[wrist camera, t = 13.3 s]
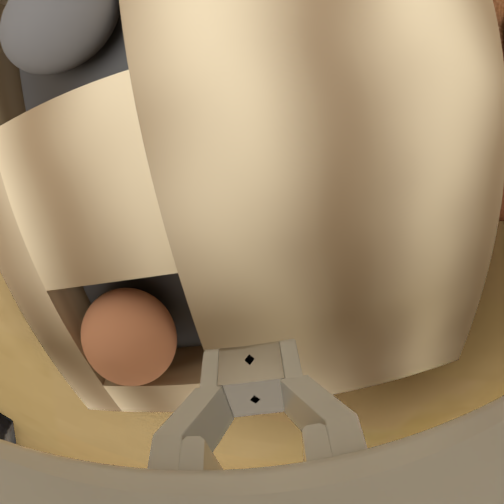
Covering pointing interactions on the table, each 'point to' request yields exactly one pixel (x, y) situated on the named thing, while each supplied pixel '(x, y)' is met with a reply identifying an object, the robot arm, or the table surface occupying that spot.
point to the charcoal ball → (55, 32)
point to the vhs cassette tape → (7, 429)
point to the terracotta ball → (128, 337)
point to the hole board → (261, 185)
